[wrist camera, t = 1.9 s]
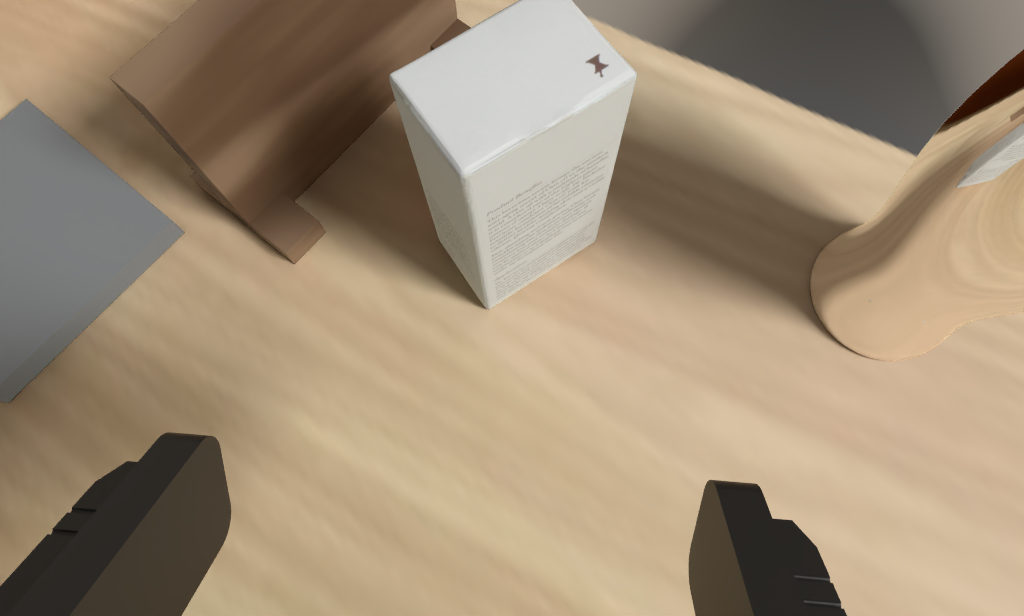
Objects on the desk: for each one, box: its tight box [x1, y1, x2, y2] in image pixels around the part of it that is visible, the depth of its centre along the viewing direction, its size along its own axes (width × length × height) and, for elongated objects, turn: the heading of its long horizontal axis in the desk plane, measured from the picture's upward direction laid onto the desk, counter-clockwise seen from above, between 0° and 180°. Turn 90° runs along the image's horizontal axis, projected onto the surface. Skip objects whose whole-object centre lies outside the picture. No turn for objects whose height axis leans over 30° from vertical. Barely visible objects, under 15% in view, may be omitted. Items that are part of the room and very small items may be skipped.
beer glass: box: [810, 49, 1024, 361], centre depth 22 cm, size 7×7×15 cm
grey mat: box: [0, 99, 185, 403], centre depth 30 cm, size 10×10×1 cm
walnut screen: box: [109, 0, 471, 264], centre depth 27 cm, size 6×14×10 cm, turn 141°
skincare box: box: [389, 0, 637, 309], centre depth 25 cm, size 6×4×12 cm
